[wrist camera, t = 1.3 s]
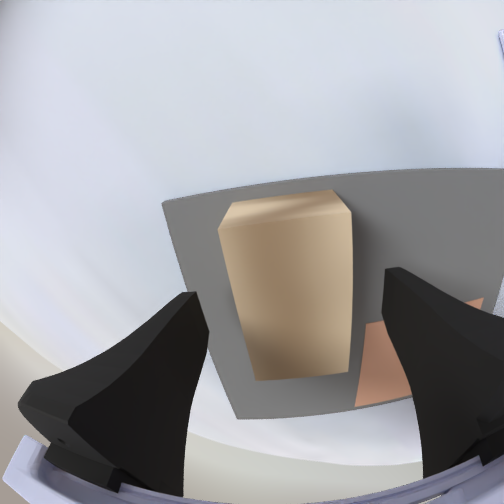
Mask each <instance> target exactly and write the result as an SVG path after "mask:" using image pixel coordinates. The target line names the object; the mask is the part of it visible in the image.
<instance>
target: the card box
mask: <svg viewBox="0 0 504 504" xmlns="http://www.w3.org/2000/svg"><path fill="white" fill-rule="evenodd" d="M218 234H219V238H220V242H221V246H222V251H223V255H224V259H225V263H226V267H227V272H228V276H229V280H230V284H231V288H232V292H233V296H234V300H235V304H236V308H237V312H238V316H239V320H240V324H241V327H242V331H243V335H244V339H245V343H246V346H247V350H248V354H249V358H250V361H251V365H252V369H253V373H254V376H255V380H256V381H267V380H282V379H294V378H304V377H314V376H322V375H330V374H337V373H344V372H348V367H349V355H350V342H351V324H352V297H353V245H352V218H351V211H350V210H349V209H348V208H347V206H346V205H345V204H344V203H343V202H342V200H341V199H340V198H339V197H338V196H337V194H336V193H335V192H334V191H333V190H323V191H314V192H305V193H297V194H289V195H282V196H274V197H267V198H260V199H253V200H246V201H240V202H233V203H232V204H231V206H230V208H229V209H228V211H227V213H226V215H225V217H224V218H223V220H222V222H221V224H220V226H219V228H218Z"/></svg>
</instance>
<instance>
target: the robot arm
mask: <svg viewBox="0 0 504 504" xmlns="http://www.w3.org/2000/svg"><path fill="white" fill-rule="evenodd" d="M499 37H500V41H501V44H502V48H503V52H504V29H502V30H500V31H499ZM381 313H382V317H383V320H384V324H385V327H386V330H387V333H388V336H389V338H390V340H391V342H392V345H393V347H394V349H395V351H396V354H397V356H398V358H399V360H400V363H401V365H402V367H403V370H404V372H405V375H406V377H407V380H408V383H409V386H410V389H411V393H412V397H413V401H414V405H415V409H416V414H417V420H418V425H419V431H420V439H421V447H422V460H423V479H422V480H419V481H416V482H413V483H410V484H406V485H403V486H400V487H396V488H393V489H389V490H385V491H381V492H377V493H372V494H368V495H363V496H358V497H353V498H347V499H340V500H334V501H326V502H317V503H307V504H418V503H421V502H424V501H427V500H430V499H432V498H435V497H437V496H440V495H441V496H440V497H439V498H436V499H434V500H432V501H430V502H427V503H425V504H504V318H502V317H499V316H496V315H493V314H490V313H488V312H485V311H482V310H480V309H478V308H475V307H473V306H471V305H468V304H466V303H464V302H462V301H460V300H458V299H456V298H454V297H452V296H451V295H449V294H447V293H445V292H443V291H441V290H440V289H438V288H436V287H435V286H433V285H431V284H429V283H428V282H426V281H424V280H423V279H421V278H419V277H418V276H416V275H414V274H413V273H411V272H409V271H407V270H405V269H403V268H401V267H393V268H387V269H385V274H384V288H383V299H382V309H381ZM209 332H210V331H209V328H208V325H207V322H206V320H205V317H204V314H203V310H202V307H201V304H200V301H199V298H198V295H197V292H196V291H193V292H182V293H181V294H179V295H178V296H176V297H175V298H174V299H173V300H171V301H170V302H169V303H168V304H167V305H165V306H164V307H163V308H162V309H161V310H160V311H158V312H157V313H156V314H155V315H154V316H153V317H151V318H150V319H149V320H148V321H147V322H145V323H144V324H143V325H142V326H140V327H139V328H138V329H136V330H135V331H134V332H133V333H131V334H130V335H129V336H127V337H126V338H125V339H123V340H122V341H120V342H119V343H117V344H116V345H114V346H113V347H111V348H110V349H108V350H106V351H105V352H103V353H101V354H99V355H97V356H96V357H94V358H92V359H90V360H88V361H86V362H84V363H82V364H80V365H78V366H76V367H73V368H71V369H69V370H66V371H64V372H61V373H58V374H55V375H52V376H49V377H46V378H42V379H39V380H35V381H33V382H32V383H31V384H30V386H29V387H28V388H27V390H26V391H25V393H24V394H23V396H22V397H21V399H20V401H19V402H18V408H19V410H20V412H21V413H22V414H23V416H24V417H25V418H26V419H27V420H28V421H29V422H30V423H31V424H32V425H33V426H34V427H35V428H36V429H37V430H38V431H39V432H40V433H41V434H42V435H43V436H44V437H45V438H47V439H48V440H49V441H50V442H51V444H50V446H49V448H47V447H46V446H45V445H43V444H42V443H40V442H38V441H36V440H34V439H33V438H31V437H29V436H27V435H24V436H23V438H22V440H21V442H20V444H19V446H18V448H17V449H16V451H15V453H14V455H13V457H12V459H11V461H10V463H9V465H8V467H7V469H6V471H5V474H4V476H3V478H2V479H3V481H4V482H6V483H7V484H8V485H9V486H10V487H11V488H12V489H14V490H15V491H16V492H17V493H18V494H19V495H21V496H22V497H23V498H24V499H25V500H27V501H28V502H29V503H30V504H229V503H218V502H210V501H202V500H195V499H188V498H183V480H184V478H183V476H184V458H185V445H186V437H187V429H188V422H189V416H190V410H191V405H192V401H193V397H194V394H195V390H196V387H197V384H198V380H199V377H200V374H201V370H202V367H203V364H204V360H205V357H206V353H207V347H208V340H209Z"/></svg>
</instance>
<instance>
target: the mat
mask: <svg viewBox="0 0 504 504" xmlns="http://www.w3.org/2000/svg"><path fill="white" fill-rule="evenodd" d="M323 190H333V191H334V192H335V193H336V194H337V196H338V197H339V198H340V199H341V200H342V202H343V203H344V204H345V205H346V206H347V208H348V209H349V210H350V211H351V218H352V245H353V297H352V324H351V342H350V355H349V367H348V372H344V373H337V374H330V375H322V376H314V377H304V378H294V379H282V380H267V381H256V380H255V376H254V373H253V369H252V365H251V361H250V358H249V354H248V350H247V346H246V343H245V339H244V335H243V331H242V327H241V324H240V320H239V316H238V312H237V308H236V304H235V300H234V296H233V292H232V288H231V284H230V280H229V276H228V272H227V267H226V263H225V259H224V255H223V251H222V246H221V242H220V238H219V234H218V228H219V226H220V224H221V222H222V220H223V218H224V217H225V215H226V213H227V211H228V209H229V208H230V206H231V204H232V203H233V202H240V201H246V200H253V199H260V198H267V197H274V196H282V195H289V194H297V193H305V192H314V191H323ZM162 207H163V211H164V215H165V218H166V222H167V225H168V229H169V233H170V236H171V239H172V243H173V246H174V250H175V253H176V256H177V259H178V263H179V266H180V269H181V272H182V275H183V278H184V282H185V285H186V288H187V291H188V292H193V291H196V292H197V295H198V298H199V301H200V304H201V307H202V310H203V314H204V317H205V320H206V322H207V325H208V328H209V331H210V332H209V340H208V350H209V352H210V355H211V357H212V360H213V363H214V365H215V368H216V370H217V373H218V375H219V378H220V380H221V383H222V385H223V387H224V390H225V392H226V395H227V397H228V399H229V402H230V404H231V406H232V408H233V411H234V413H235V415H236V418H237V419H276V418H292V417H304V416H314V415H323V414H330V413H338V412H344V411H350V410H356V409H362V408H367V407H372V406H377V405H382V404H386V403H391V402H395V401H399V400H403V399H407V398H411V397H412V393H411V389H410V386H409V383H408V380H407V377H406V375H405V372H404V370H403V367H402V365H401V363H400V360H399V358H398V356H397V354H396V351H395V349H394V347H393V345H392V342H391V340H390V338H389V336H388V333H387V330H386V327H385V324H384V320H383V317H382V313H381V309H382V299H383V288H384V274H385V269H387V268H393V267H401V268H403V269H405V270H407V271H409V272H411V273H413V274H414V275H416V276H418V277H419V278H421V279H423V280H424V281H426V282H428V283H429V284H431V285H433V286H435V287H436V288H438V289H440V290H441V291H443V292H445V293H447V294H449V295H451V296H452V297H454V298H456V299H458V300H460V301H462V302H464V303H466V304H468V305H471V306H473V307H475V308H478V309H480V310H482V311H485V312H488V313H490V314H492V312H493V309H494V306H495V303H496V300H497V297H498V294H499V290H500V287H501V283H502V280H503V276H504V169H497V168H432V169H406V170H388V171H373V172H360V173H348V174H338V175H328V176H318V177H309V178H301V179H293V180H285V181H278V182H270V183H263V184H257V185H250V186H244V187H237V188H231V189H225V190H219V191H214V192H208V193H203V194H197V195H192V196H187V197H182V198H177V199H172V200H167V201H164V202H163V203H162Z"/></svg>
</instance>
